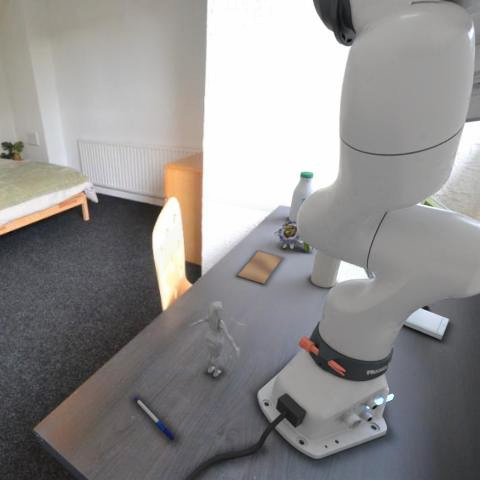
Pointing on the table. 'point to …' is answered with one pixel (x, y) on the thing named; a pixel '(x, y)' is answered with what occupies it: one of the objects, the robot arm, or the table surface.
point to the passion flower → (290, 235)
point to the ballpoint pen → (155, 419)
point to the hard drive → (427, 323)
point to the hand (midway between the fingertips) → (474, 144)
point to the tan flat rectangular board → (260, 267)
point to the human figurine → (216, 335)
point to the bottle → (325, 270)
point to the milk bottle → (301, 194)
